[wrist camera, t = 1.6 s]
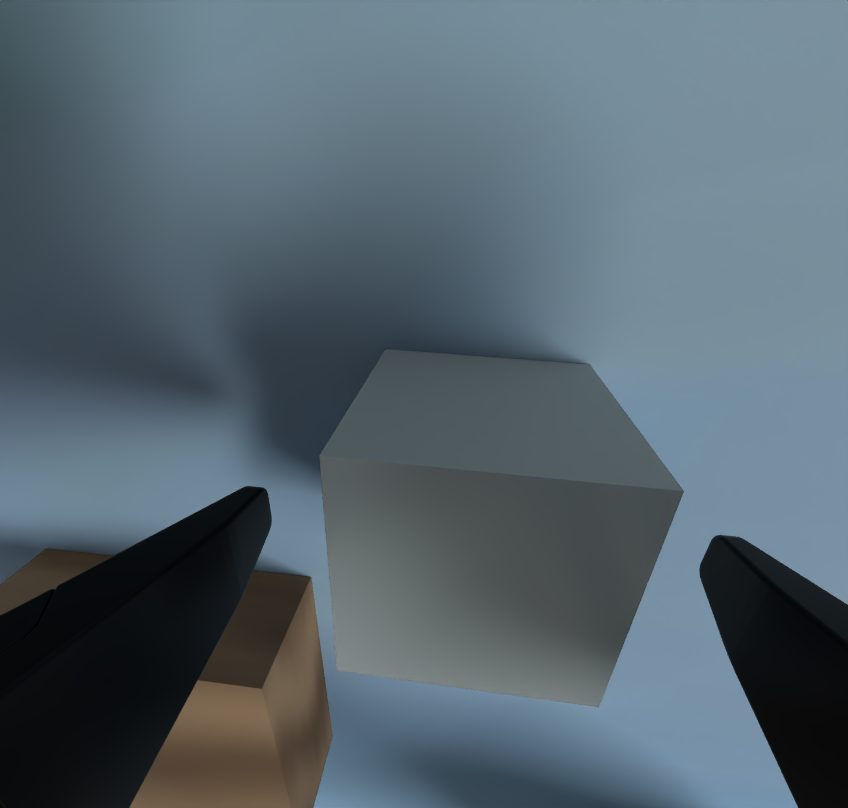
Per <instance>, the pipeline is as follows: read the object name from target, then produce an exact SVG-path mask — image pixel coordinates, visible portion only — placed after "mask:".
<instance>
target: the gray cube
mask: <svg viewBox="0 0 848 808" xmlns="http://www.w3.org/2000/svg"><path fill="white" fill-rule="evenodd" d="M319 458H320V470H321V482H322V495H323V507H324V519H325V531H326V543H327V555H328V567H329V579H330V591H331V603H332V616H333V628H334V640H335V652H336V664H337V671H344V672H351V673H358V674H365V675H372V676H379V677H386V678H394V679H401V680H408V681H415V682H422V683H429V684H437V685H444V686H451V687H458V688H465V689H472V690H479V691H487V692H494V693H501V694H508V695H515V696H522V697H529V698H537V699H544V700H551V701H558V702H565V703H572V704H580V705H587V706H594V707H599V705H600V702H601V700H602V697H603V695H604V692H605V690H606V687H607V685H608V682H609V680H610V677H611V675H612V672H613V669H614V667H615V664H616V662H617V659H618V657H619V654H620V652H621V649H622V647H623V644H624V642H625V639H626V637H627V634H628V631H629V629H630V626H631V624H632V621H633V619H634V616H635V614H636V611H637V609H638V606H639V604H640V601H641V599H642V596H643V593H644V591H645V588H646V586H647V583H648V581H649V578H650V576H651V573H652V571H653V568H654V566H655V563H656V561H657V558H658V556H659V553H660V550H661V548H662V545H663V543H664V540H665V538H666V535H667V533H668V530H669V528H670V525H671V523H672V520H673V518H674V515H675V512H676V510H677V507H678V505H679V502H680V500H681V497H682V495H683V492H684V491H683V489H682V488H681V487H680V485H679V484H678V483H677V481H676V480H675V479H674V477H673V476H672V474H671V473H670V472H669V470H668V469H667V468H666V466H665V465H664V464H663V462H662V461H661V460H660V458H659V457H658V456H657V454H656V453H655V452H654V450H653V449H652V448H651V446H650V445H649V443H648V442H647V441H646V439H645V438H644V437H643V435H642V434H641V433H640V431H639V430H638V429H637V427H636V426H635V425H634V423H633V422H632V421H631V419H630V418H629V417H628V415H627V414H626V412H625V411H624V410H623V408H622V407H621V406H620V404H619V403H618V402H617V400H616V399H615V398H614V396H613V395H612V394H611V392H610V391H609V390H608V388H607V387H606V386H605V384H604V383H603V381H602V380H601V379H600V377H599V376H598V375H597V373H596V372H595V371H594V369H593V368H592V367H591V365H590V364H577V363H564V362H551V361H537V360H524V359H511V358H497V357H484V356H470V355H457V354H444V353H430V352H417V351H404V350H390V349H385V351H384V352H383V354H382V356H381V357H380V359H379V361H378V362H377V364H376V365H375V367H374V369H373V370H372V372H371V373H370V375H369V377H368V378H367V380H366V381H365V383H364V385H363V386H362V388H361V389H360V391H359V393H358V394H357V396H356V397H355V399H354V401H353V402H352V404H351V406H350V407H349V409H348V410H347V412H346V414H345V415H344V417H343V418H342V420H341V422H340V423H339V425H338V426H337V428H336V430H335V431H334V433H333V434H332V436H331V438H330V439H329V441H328V442H327V444H326V446H325V447H324V449H323V451H322V452H321V454H320V455H319Z"/></svg>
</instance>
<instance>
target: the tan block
mask: <svg viewBox="0 0 848 808" xmlns="http://www.w3.org/2000/svg"><path fill="white" fill-rule="evenodd" d="M111 557H112V556H111V555H102V554H93V553H83V552H74V551H65V550H56V549H45V550H44V551H43V552H41V553H40V554H39V555H37V556H36V557H35V558H34V559H32V560H31V561H30V562H29V563H27V564H26V565H25V566H24V567H22V568H21V569H20V570H19V571H17V572H16V573H15V574H14V575H12V576H11V577H10V578H9V579H7V580H6V581H5V582H4V583H2V584H1V585H0V615H2V614H4V613H6V612H8V611H10V610H11V609H13V608H15V607H17V606H19V605H21V604H23V603H25V602H27V601H29V600H31V599H33V598H35V597H36V596H38V595H40V594H42V593H44V592H46V591H48V590H50V589H55V588H56V587H57V586H58V585H59V584H61V583H63V582H65V581H67V580H69V579H71V578H73V577H74V576H76V575H78V574H80V573H82V572H84V571H86V570H88V569H90V568H92V567H93V566H95V565H97V564H99V563H101V562H103V561H105V560H107V559H109V558H111ZM331 740H332V730H331V722H330V715H329V707H328V700H327V692H326V685H325V677H324V670H323V662H322V655H321V647H320V640H319V632H318V624H317V617H316V609H315V602H314V594H313V587H312V579H311V577H306V576H297V575H288V574H279V573H269V572H260V571H253V572H252V575H251V577H250V580H249V582H248V584H247V587H246V589H245V591H244V594H243V596H242V598H241V600H240V602H239V604H238V606H237V608H236V610H235V612H234V614H233V615H232V617H231V619H230V621H229V623H228V625H227V627H226V628H225V630H224V632H223V634H222V636H221V638H220V640H219V642H218V643H217V645H216V647H215V649H214V651H213V653H212V655H211V656H210V658H209V660H208V662H207V664H206V666H205V668H204V670H203V671H202V673H201V675H200V677H199V679H198V681H197V683H196V684H195V686H194V688H193V690H192V692H191V694H190V696H189V698H188V699H187V701H186V703H185V705H184V707H183V709H182V711H181V712H180V714H179V716H178V718H177V720H176V722H175V724H174V726H173V727H172V729H171V731H170V733H169V735H168V737H167V739H166V740H165V742H164V744H163V746H162V748H161V750H160V752H159V754H158V755H157V757H156V759H155V761H154V763H153V765H152V767H151V769H150V770H149V772H148V774H147V776H146V778H145V780H144V782H143V783H142V785H141V787H140V789H139V791H138V793H137V795H136V797H135V798H134V800H133V802H132V804H131V806H130V808H313V807H314V803H315V799H316V796H317V792H318V788H319V784H320V781H321V777H322V773H323V770H324V766H325V762H326V758H327V755H328V751H329V747H330V743H331Z"/></svg>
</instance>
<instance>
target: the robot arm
mask: <svg viewBox="0 0 848 808" xmlns="http://www.w3.org/2000/svg"><path fill="white" fill-rule="evenodd" d="M271 522H272V517H271V510H270V504H269V497H268V493H267V490H266V489H265V488H262V487H253V486H246V487H243V488H241V489H239V490H237V491H236V492H234V493H232V494H230V495H228V496H226V497H224V498H222V499H220V500H219V501H217V502H215V503H213V504H211V505H209V506H207V507H205V508H203V509H201V510H200V511H198V512H196V513H194V514H192V515H190V516H188V517H186V518H184V519H183V520H181V521H179V522H177V523H175V524H173V525H171V526H169V527H167V528H165V529H164V530H162V531H160V532H158V533H156V534H154V535H152V536H150V537H148V538H147V539H145V540H143V541H141V542H139V543H137V544H135V545H133V546H131V547H129V548H128V549H126V550H124V551H122V552H120V553H118V554H116V555H114V556H112V557H111V558H109V559H107V560H105V561H103V562H101V563H99V564H97V565H95V566H93V567H92V568H90V569H88V570H86V571H84V572H82V573H80V574H78V575H76V576H74V577H73V578H71V579H69V580H67V581H65V582H63V583H61V584H59V585H58V586H57V587H56V588H55V589H50V590H48V591H46V592H44V593H42V594H40V595H38V596H36V597H35V598H33V599H31V600H29V601H27V602H25V603H23V604H21V605H19V606H17V607H15V608H13V609H11V610H10V611H8V612H6V613H4V614H2V615H0V808H130V806H131V804H132V802H133V800H134V798H135V797H136V795H137V793H138V791H139V789H140V787H141V785H142V783H143V782H144V780H145V778H146V776H147V774H148V772H149V770H150V769H151V767H152V765H153V763H154V761H155V759H156V757H157V755H158V754H159V752H160V750H161V748H162V746H163V744H164V742H165V740H166V739H167V737H168V735H169V733H170V731H171V729H172V727H173V726H174V724H175V722H176V720H177V718H178V716H179V714H180V712H181V711H182V709H183V707H184V705H185V703H186V701H187V699H188V698H189V696H190V694H191V692H192V690H193V688H194V686H195V684H196V683H197V681H198V679H199V677H200V675H201V673H202V671H203V670H204V668H205V666H206V664H207V662H208V660H209V658H210V656H211V655H212V653H213V651H214V649H215V647H216V645H217V643H218V642H219V640H220V638H221V636H222V634H223V632H224V630H225V628H226V627H227V625H228V623H229V621H230V619H231V617H232V615H233V614H234V612H235V610H236V608H237V606H238V604H239V602H240V600H241V598H242V596H243V594H244V591H245V589H246V587H247V584H248V582H249V580H250V577H251V575H252V572H253V570H254V567H255V565H256V562H257V560H258V558H259V555H260V553H261V550H262V548H263V545H264V543H265V540H266V538H267V536H268V533H269V531H270V528H271ZM699 570H700V578H701V581H702V584H703V587H704V590H705V593H706V595H707V598H708V601H709V604H710V607H711V610H712V612H713V615H714V618H715V621H716V624H717V627H718V629H719V632H720V635H721V638H722V641H723V644H724V646H725V649H726V651H727V654H728V656H729V659H730V661H731V664H732V666H733V668H734V670H735V673H736V675H737V677H738V679H739V681H740V683H741V686H742V688H743V690H744V692H745V694H746V696H747V699H748V701H749V703H750V705H751V707H752V709H753V711H754V714H755V716H756V718H757V720H758V722H759V724H760V727H761V729H762V731H763V733H764V735H765V737H766V739H767V742H768V744H769V746H770V748H771V750H772V752H773V754H774V757H775V759H776V761H777V763H778V765H779V767H780V770H781V772H782V774H783V776H784V778H785V780H786V782H787V785H788V787H789V789H790V791H791V793H792V795H793V798H794V800H795V802H796V804H797V806H798V808H848V605H847V604H846V603H844V602H842V601H841V600H839V599H838V598H836V597H835V596H833V595H831V594H830V593H828V592H827V591H825V590H823V589H822V588H820V587H819V586H817V585H816V584H814V583H812V582H811V581H809V580H808V579H806V578H804V577H803V576H801V575H800V574H798V573H797V572H795V571H793V570H792V569H790V568H789V567H787V566H785V565H784V564H782V563H781V562H779V561H777V560H776V559H774V558H773V557H771V556H770V555H768V554H766V553H765V552H763V551H762V550H760V549H758V548H757V547H755V546H754V545H752V544H751V543H749V542H747V541H746V540H744V539H742V538H740V537H735V536H726V535H717V536H715V537H714V538H713V539H712V540H711V542H710V544H709V547H708V549H707V551H706V553H705V555H704V558H703V560H702V562H701V564H700V569H699Z"/></svg>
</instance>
